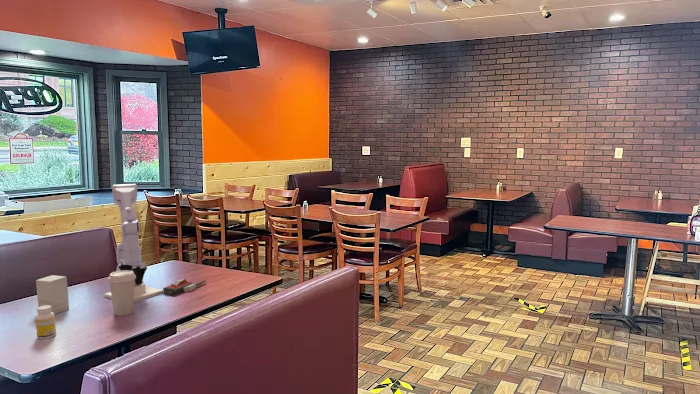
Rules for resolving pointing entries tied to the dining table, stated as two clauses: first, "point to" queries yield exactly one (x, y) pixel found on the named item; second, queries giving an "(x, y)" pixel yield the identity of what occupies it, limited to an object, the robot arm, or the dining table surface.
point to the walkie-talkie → (180, 287)
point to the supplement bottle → (45, 322)
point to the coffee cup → (122, 291)
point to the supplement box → (53, 293)
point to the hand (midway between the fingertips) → (133, 282)
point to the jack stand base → (141, 292)
